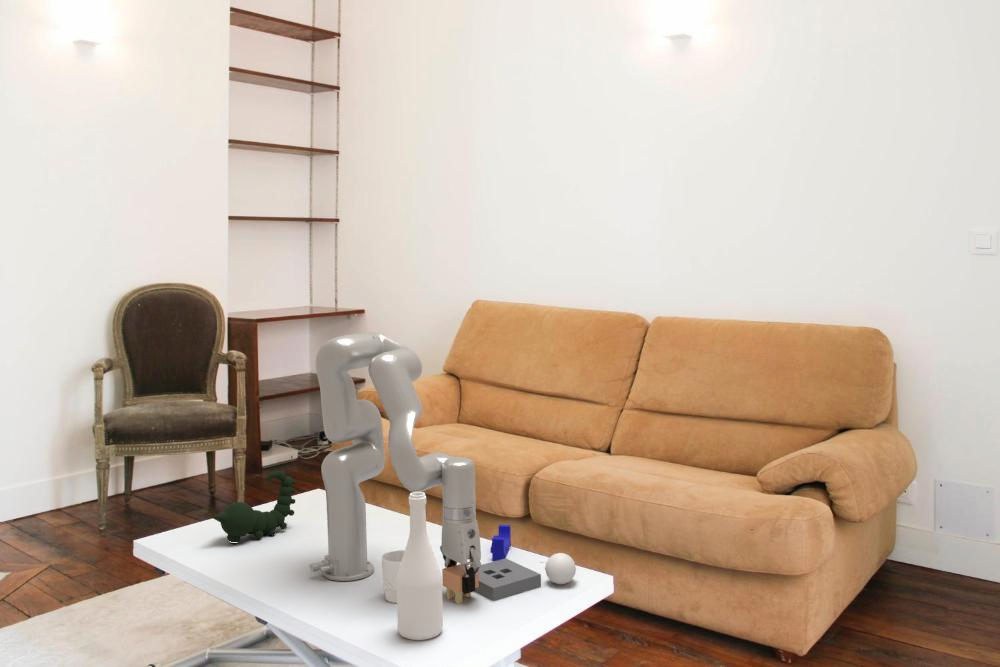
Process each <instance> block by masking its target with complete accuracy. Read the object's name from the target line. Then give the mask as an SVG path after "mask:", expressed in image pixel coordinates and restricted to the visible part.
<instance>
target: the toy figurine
mask: <svg viewBox="0 0 1000 667" xmlns="http://www.w3.org/2000/svg"><path fill="white" fill-rule="evenodd" d="M271 479H276V480H278V481H280V487H279V489H278V493H279V495H278V496H277V498H276V503H275V505H274V507H273V509H272V510H270V511H268V510H267V511H261V510H258V509H257V510H256V509H254V508H253V507H252V506H251V505H249V504H248V503H246V502H241V501H237V502H233V503H231V504H229V505H227V506H226V507H225V508H224V509H223V511H222V512H221V513H218V514H216V515H213V516H212V519H213V520H215V521H216V522H219V523H220V526H221V529H222V531H224V533H226V534H227V536H226V539H227V541H228V540H229V541H231V542H238V541H240V542H241V539H242V537H245V536H248V535H247V534H250V535H253V538H255V539H257V538H259V539H262V538H263V536H264V534H265V533H268V536H270V535H274V534H275V535H276V533H277V531H276V529H277V528H280V529H281V530H286V529H287V527H288V525H287V522H285V520H286V518H287V517H288V516H290V517H291V516H294V515H295V511H294V509H291V505H294V504H295V503H296V499H294V498H292V495H293V494H296V488H294V487H293V485H295V484H296V480H295V479H293V478H292V477H291V476H286V474H285V472H284V471H282V470H274V471H271V472H270V473H269V474H267V477H266V481H268V482H269V481H270V480H271ZM275 535H274V536H275ZM229 541H228V542H229Z"/></svg>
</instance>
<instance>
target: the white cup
mask: <svg viewBox="0 0 1000 667" xmlns="http://www.w3.org/2000/svg"><path fill="white" fill-rule="evenodd" d="M404 552H405V549H404V550H402V549H401V550H392V551H391V550H390V551H388V552H385V553H384V554H382V555H381V568H382V579H383V580H382V581H383V588H384V598H385V600H386V602H389V603H393V604H394V603H395V604H397V575H398V571H399V568H400V564H401V561H402V558H403V555H404Z"/></svg>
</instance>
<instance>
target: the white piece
mask: <svg viewBox="0 0 1000 667" xmlns="http://www.w3.org/2000/svg"><path fill="white" fill-rule="evenodd" d="M540 563H541V564H542V563H543V564H544V562H541V561H540ZM576 568H577V567H576V562H575V561H574V559H573V558H572V557H571V556H570V555H569V554H567V553H564V552H558V553H554V554H552V555H551V556H550V557H548V559H547V561H546V562H545V567H544V570H545V574H546V576H547V578H548V579H549V580H550V581H551V583H554V584H557V585H565V584H568V583H570V582H571V581H572V580H573V579H574V577H575V575H576V571H577V569H576Z"/></svg>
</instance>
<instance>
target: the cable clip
mask: <svg viewBox="0 0 1000 667" xmlns="http://www.w3.org/2000/svg"><path fill="white" fill-rule="evenodd" d="M511 527H512V526H511V524H499V525H498V535H494V536H493V537H492V539H491V546H490V553H491V557H492V561H491V562H494V561H498V560H501V559H505V558H506V559H507V556H508V553H509V550H510V549H511V546H512V545H511V544H512V540H511V537H512V536H511V534H512V533H511V530H512V528H511ZM509 547H510V548H509Z"/></svg>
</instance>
